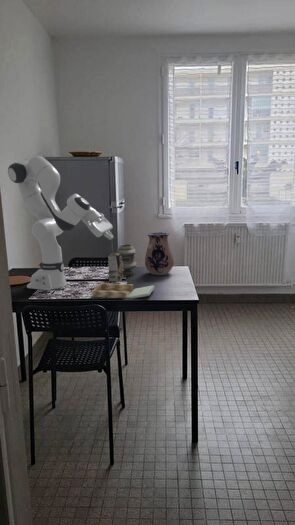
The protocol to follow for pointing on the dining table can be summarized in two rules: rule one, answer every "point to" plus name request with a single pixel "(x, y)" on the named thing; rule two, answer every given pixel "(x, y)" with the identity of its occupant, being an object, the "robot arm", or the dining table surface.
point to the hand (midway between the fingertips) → (112, 238)
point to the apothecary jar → (127, 258)
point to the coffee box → (115, 267)
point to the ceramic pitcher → (158, 254)
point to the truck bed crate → (112, 290)
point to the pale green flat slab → (141, 292)
